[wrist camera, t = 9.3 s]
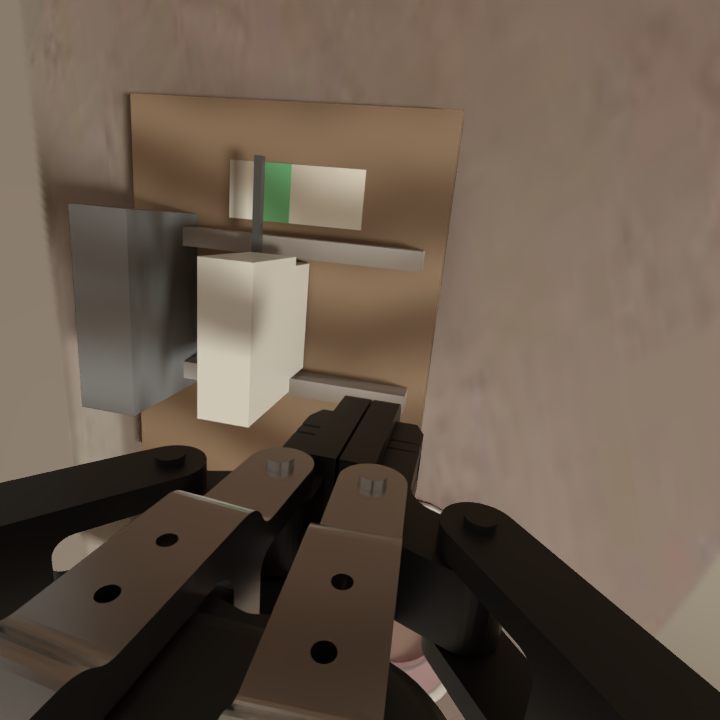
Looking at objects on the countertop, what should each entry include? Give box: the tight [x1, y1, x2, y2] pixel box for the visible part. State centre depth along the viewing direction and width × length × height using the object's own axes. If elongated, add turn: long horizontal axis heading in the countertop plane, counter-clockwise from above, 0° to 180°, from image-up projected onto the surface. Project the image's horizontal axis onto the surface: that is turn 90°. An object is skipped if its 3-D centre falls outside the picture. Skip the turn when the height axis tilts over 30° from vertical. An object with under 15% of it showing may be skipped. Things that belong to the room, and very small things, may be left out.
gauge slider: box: [197, 155, 309, 428], centre depth 23 cm, size 12×4×8 cm, turn 174°
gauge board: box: [68, 93, 464, 471], centre depth 26 cm, size 22×18×8 cm
